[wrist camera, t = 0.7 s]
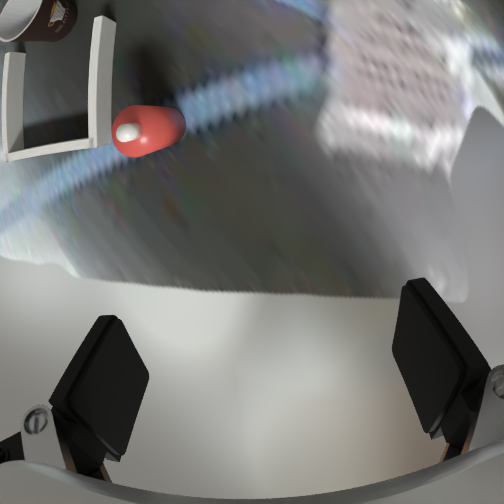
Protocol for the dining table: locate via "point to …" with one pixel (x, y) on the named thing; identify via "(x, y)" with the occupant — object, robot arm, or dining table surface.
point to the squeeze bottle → (147, 129)
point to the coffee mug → (36, 20)
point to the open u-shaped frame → (96, 99)
